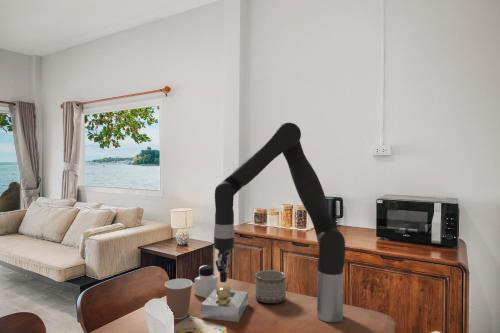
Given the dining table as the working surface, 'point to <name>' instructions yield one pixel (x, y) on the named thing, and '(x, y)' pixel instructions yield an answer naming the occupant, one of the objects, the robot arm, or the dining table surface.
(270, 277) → the planter
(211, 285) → the medicine bottle
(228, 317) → the jig
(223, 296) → the brass knob
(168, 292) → the coffee cup
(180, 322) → the dining table surface
